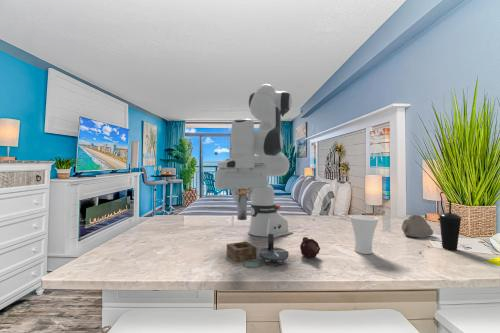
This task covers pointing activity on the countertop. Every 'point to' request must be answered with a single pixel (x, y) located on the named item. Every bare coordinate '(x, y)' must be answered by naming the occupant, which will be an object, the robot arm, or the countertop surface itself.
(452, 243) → the drinking cup
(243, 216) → the orange topped grey cylinder
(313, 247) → the maroon cone figure
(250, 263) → the coaster
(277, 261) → the wheel post
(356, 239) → the cup
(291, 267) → the countertop surface
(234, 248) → the block
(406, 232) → the pumice stone
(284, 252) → the handwheel
